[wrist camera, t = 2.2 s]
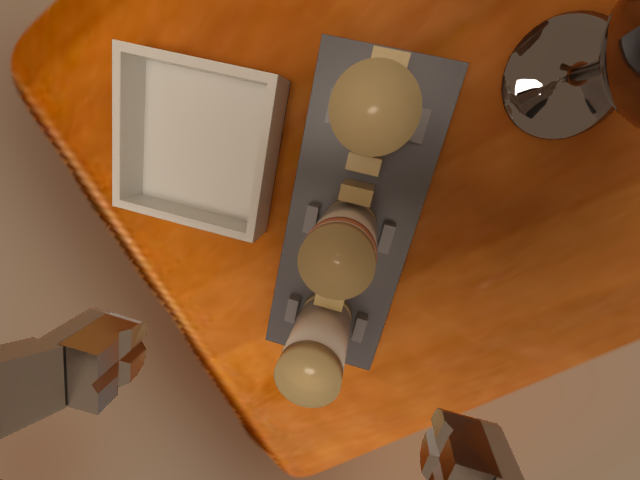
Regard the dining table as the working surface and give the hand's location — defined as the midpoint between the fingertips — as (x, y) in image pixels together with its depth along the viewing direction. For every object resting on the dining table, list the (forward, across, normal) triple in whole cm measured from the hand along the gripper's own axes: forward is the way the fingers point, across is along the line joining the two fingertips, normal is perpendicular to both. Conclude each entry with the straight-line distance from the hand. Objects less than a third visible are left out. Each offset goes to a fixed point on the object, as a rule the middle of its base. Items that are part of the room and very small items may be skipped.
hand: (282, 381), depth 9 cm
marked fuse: (+16, -1, 0) cm, 16 cm away
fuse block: (+17, -1, 0) cm, 17 cm away
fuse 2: (+16, -1, -8) cm, 18 cm away
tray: (+18, +11, -3) cm, 21 cm away
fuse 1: (+16, -1, +7) cm, 18 cm away
